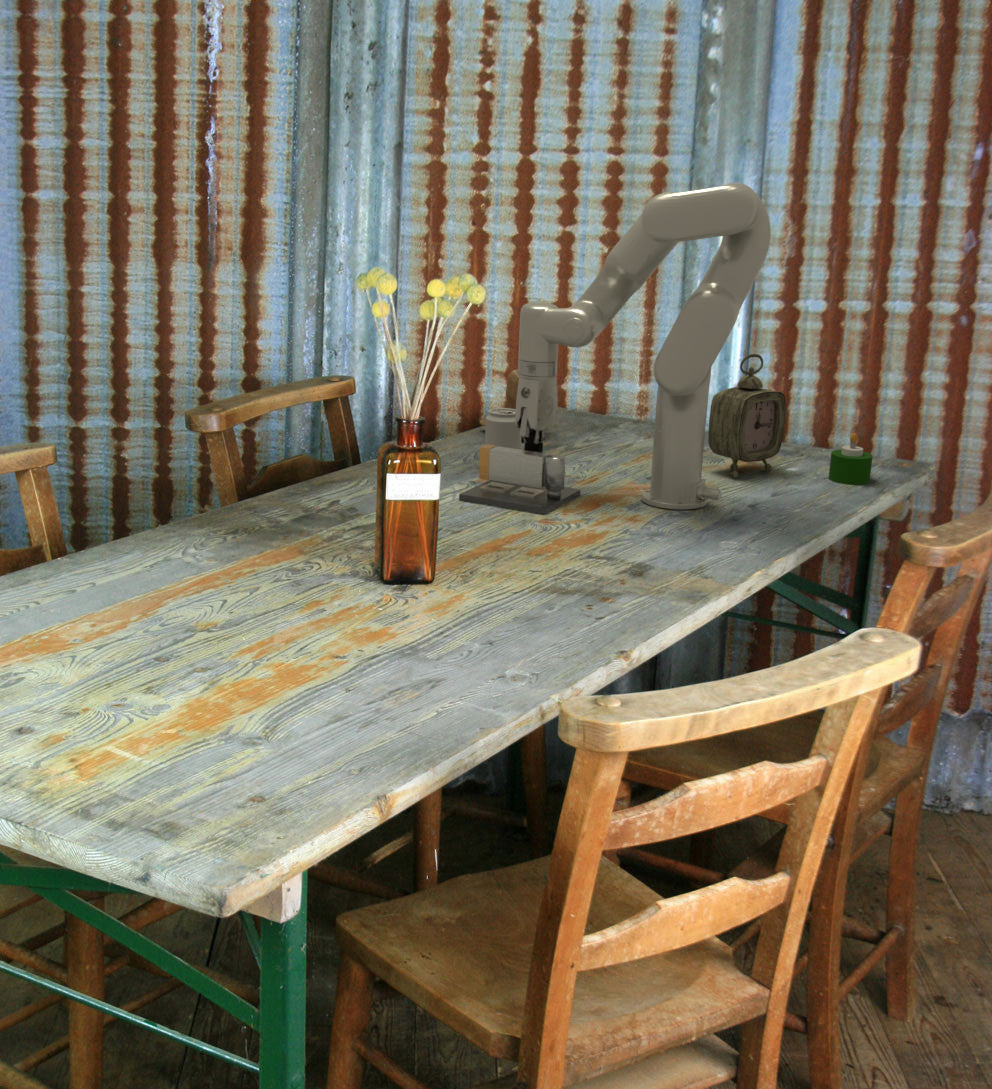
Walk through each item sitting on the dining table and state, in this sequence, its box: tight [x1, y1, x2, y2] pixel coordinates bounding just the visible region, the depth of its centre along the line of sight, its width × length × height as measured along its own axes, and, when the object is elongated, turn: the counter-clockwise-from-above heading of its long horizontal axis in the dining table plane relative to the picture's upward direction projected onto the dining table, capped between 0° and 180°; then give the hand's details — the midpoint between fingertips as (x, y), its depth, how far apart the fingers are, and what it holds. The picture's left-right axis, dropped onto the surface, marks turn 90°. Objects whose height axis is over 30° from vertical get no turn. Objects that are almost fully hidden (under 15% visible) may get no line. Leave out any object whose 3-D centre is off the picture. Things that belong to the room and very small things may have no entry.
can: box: [484, 407, 522, 450], centre depth 275 cm, size 8×8×12 cm
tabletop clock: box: [707, 353, 787, 479], centre depth 275 cm, size 14×9×25 cm, turn 129°
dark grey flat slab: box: [458, 480, 582, 516], centre depth 254 cm, size 18×16×3 cm
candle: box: [828, 432, 873, 486], centre depth 274 cm, size 8×8×10 cm
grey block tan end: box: [478, 444, 566, 490], centre depth 252 cm, size 17×4×6 cm, turn 63°
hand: (532, 462), depth 259 cm, fingers closed
